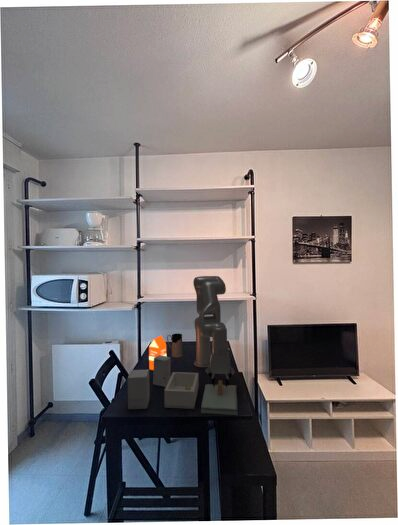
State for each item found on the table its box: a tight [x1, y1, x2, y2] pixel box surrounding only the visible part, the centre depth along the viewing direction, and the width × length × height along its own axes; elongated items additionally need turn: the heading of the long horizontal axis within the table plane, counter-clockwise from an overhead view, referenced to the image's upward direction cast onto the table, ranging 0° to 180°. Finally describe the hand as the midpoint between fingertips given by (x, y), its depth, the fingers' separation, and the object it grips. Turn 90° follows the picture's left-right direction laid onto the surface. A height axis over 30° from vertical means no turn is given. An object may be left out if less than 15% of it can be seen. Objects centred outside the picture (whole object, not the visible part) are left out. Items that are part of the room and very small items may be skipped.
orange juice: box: [148, 335, 168, 371], centre depth 164 cm, size 8×9×20 cm
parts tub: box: [164, 371, 200, 410], centre depth 128 cm, size 20×14×8 cm
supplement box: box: [127, 369, 151, 410], centre depth 122 cm, size 9×9×15 cm
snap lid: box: [200, 379, 239, 416], centre depth 124 cm, size 22×16×7 cm
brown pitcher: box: [166, 333, 184, 358], centre depth 187 cm, size 9×14×15 cm, turn 53°
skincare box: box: [152, 355, 172, 388], centre depth 142 cm, size 8×6×15 cm
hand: (220, 385), depth 129 cm, fingers open, 5 cm apart
